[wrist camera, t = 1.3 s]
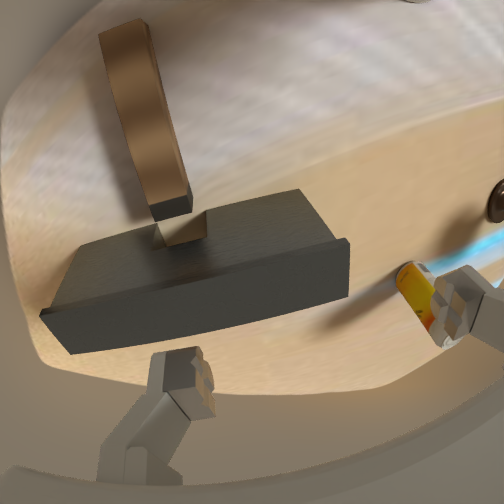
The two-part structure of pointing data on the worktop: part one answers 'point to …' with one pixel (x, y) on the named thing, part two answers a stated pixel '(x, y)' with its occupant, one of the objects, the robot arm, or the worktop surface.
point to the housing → (200, 276)
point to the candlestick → (497, 203)
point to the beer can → (422, 300)
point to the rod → (146, 118)
